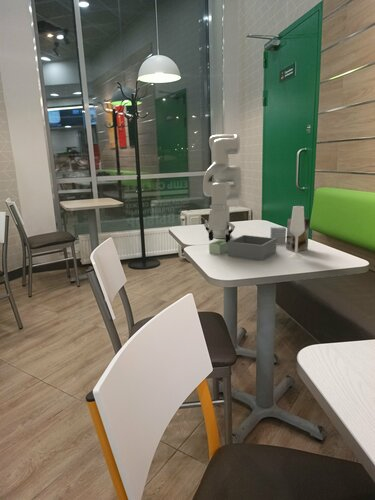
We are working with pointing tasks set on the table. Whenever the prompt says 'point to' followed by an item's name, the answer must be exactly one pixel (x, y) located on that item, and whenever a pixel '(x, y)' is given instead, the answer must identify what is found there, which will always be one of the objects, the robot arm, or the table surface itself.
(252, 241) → the box
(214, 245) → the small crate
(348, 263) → the table surface
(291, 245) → the coffee box
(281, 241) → the medicine box
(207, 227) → the robot arm
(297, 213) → the champagne flute
